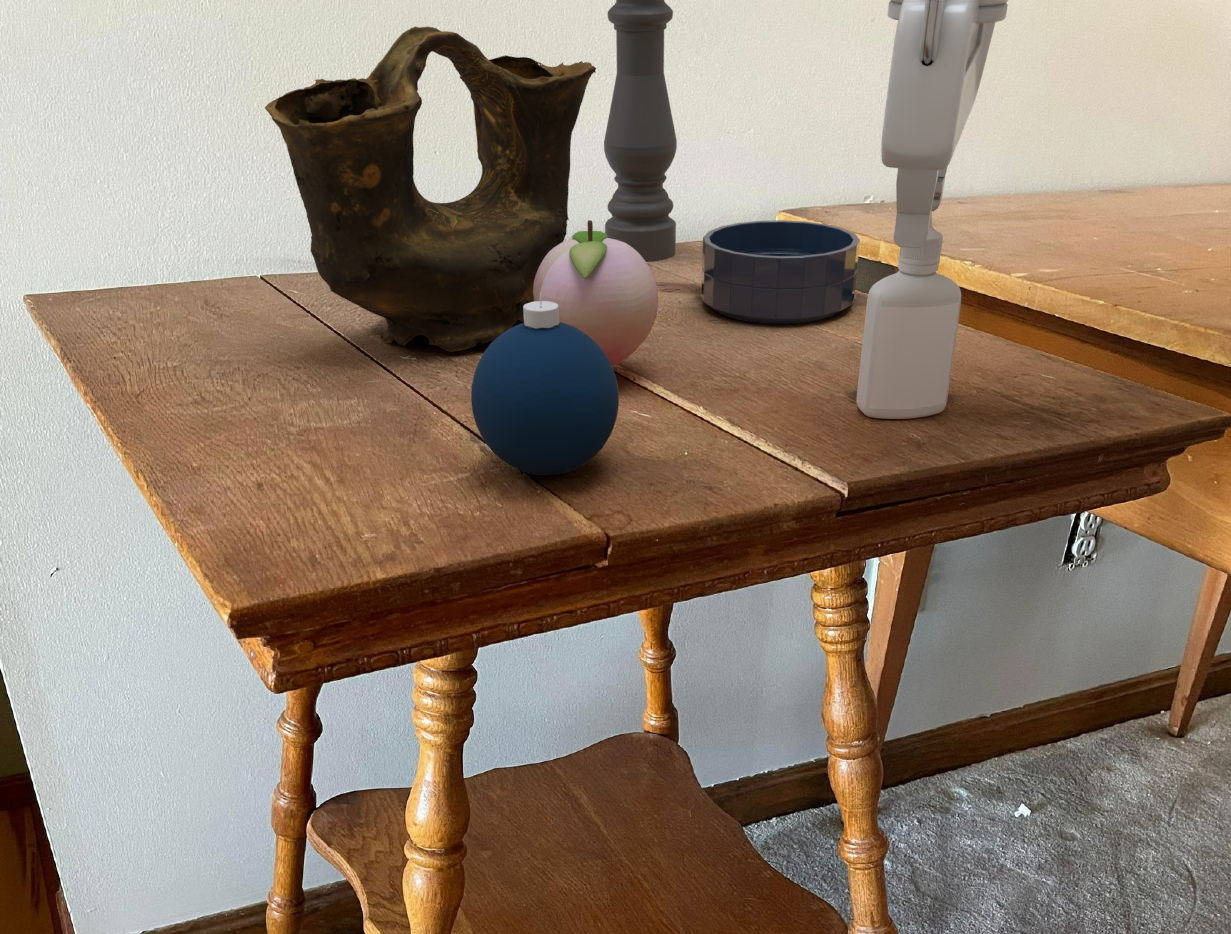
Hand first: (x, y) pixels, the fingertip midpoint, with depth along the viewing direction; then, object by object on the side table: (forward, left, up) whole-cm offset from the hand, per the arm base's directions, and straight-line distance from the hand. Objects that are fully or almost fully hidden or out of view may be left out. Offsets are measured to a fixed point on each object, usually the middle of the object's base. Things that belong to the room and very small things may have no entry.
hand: (917, 226), depth 75 cm
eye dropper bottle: (0, 0, -11) cm, 11 cm away
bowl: (+12, -22, -11) cm, 27 cm away
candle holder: (+26, -32, -11) cm, 43 cm away
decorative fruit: (+21, -2, -11) cm, 24 cm away
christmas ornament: (+19, +15, -11) cm, 27 cm away
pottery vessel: (+34, -9, -11) cm, 37 cm away
